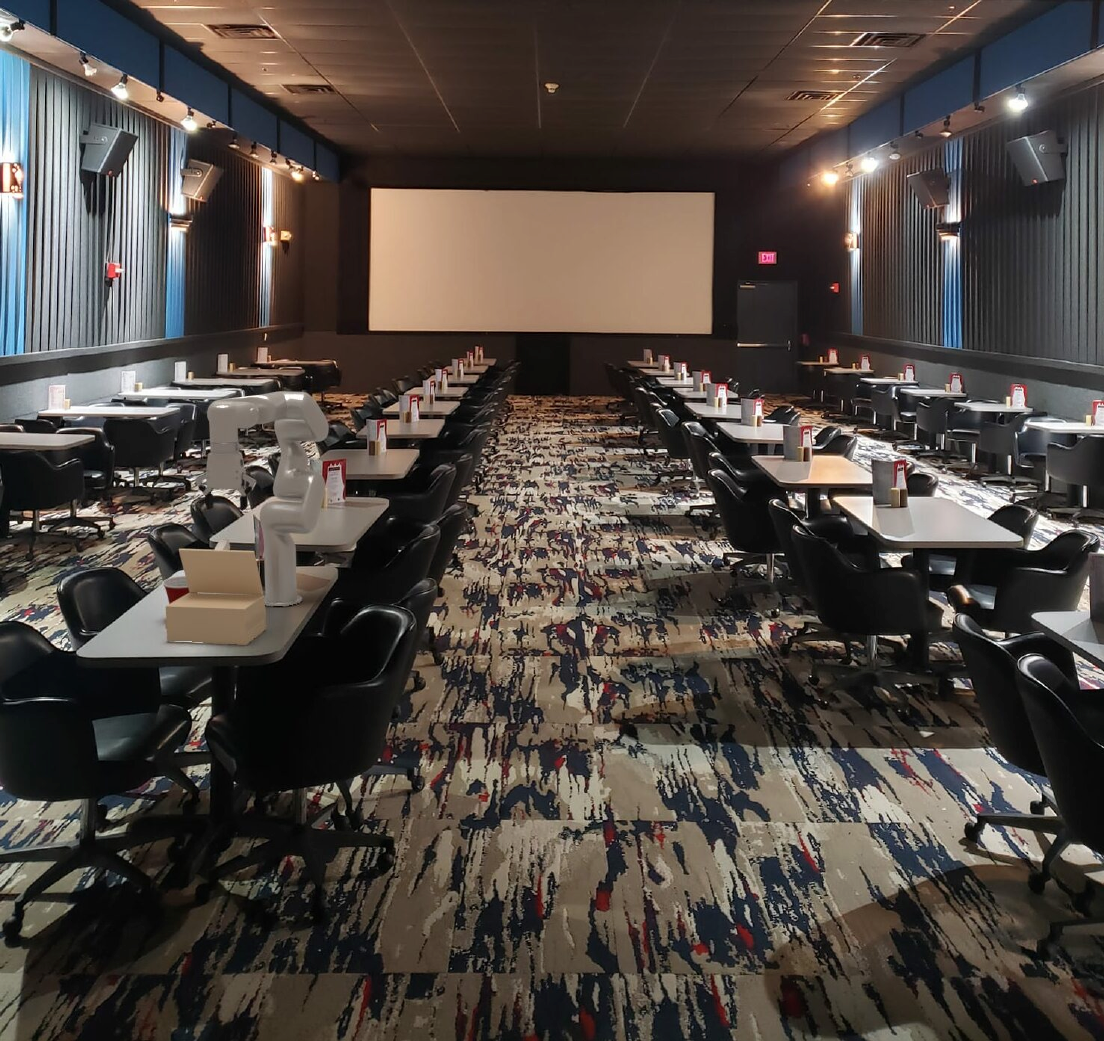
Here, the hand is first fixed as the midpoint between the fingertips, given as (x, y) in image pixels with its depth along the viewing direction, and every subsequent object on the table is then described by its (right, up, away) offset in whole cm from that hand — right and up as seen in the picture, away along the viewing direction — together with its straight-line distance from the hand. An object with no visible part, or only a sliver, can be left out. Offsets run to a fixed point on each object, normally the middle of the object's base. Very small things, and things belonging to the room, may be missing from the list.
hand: (226, 509), depth 330 cm
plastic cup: (-16, -32, +12) cm, 38 cm away
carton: (-1, -35, -4) cm, 35 cm away
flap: (-1, -18, -3) cm, 18 cm away
